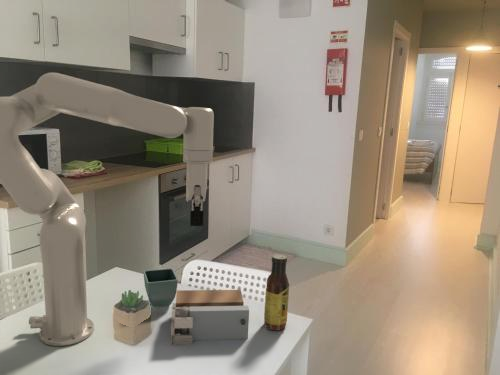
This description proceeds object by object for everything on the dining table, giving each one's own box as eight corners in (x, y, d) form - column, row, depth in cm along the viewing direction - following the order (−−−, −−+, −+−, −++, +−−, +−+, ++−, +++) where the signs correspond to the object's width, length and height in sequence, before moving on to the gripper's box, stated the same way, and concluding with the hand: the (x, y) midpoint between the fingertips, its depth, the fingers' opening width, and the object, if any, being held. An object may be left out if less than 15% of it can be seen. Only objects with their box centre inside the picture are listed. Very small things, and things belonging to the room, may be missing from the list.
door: (179, 342, 104) (179, 313, 103) (179, 335, 107) (180, 306, 106) (248, 340, 106) (249, 311, 105) (246, 333, 110) (248, 305, 108)
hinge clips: (170, 345, 103) (171, 319, 101) (172, 327, 111) (172, 303, 109) (192, 344, 103) (192, 318, 102) (192, 327, 111) (192, 302, 110)
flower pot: (178, 308, 121) (178, 279, 119) (147, 312, 118) (147, 282, 116) (172, 295, 129) (172, 267, 127) (143, 298, 126) (143, 270, 124)
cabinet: (175, 327, 111) (175, 303, 109) (176, 313, 118) (176, 290, 117) (242, 325, 113) (243, 302, 112) (239, 312, 121) (240, 289, 119)
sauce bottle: (285, 333, 111) (289, 262, 107) (261, 329, 112) (265, 260, 108) (287, 321, 117) (292, 254, 113) (265, 318, 118) (269, 251, 114)
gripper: (184, 151, 115) (183, 211, 118) (182, 160, 98) (181, 230, 102) (211, 152, 116) (209, 211, 119) (214, 161, 99) (212, 230, 103)
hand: (196, 220), depth 111 cm, fingers open, 9 cm apart
